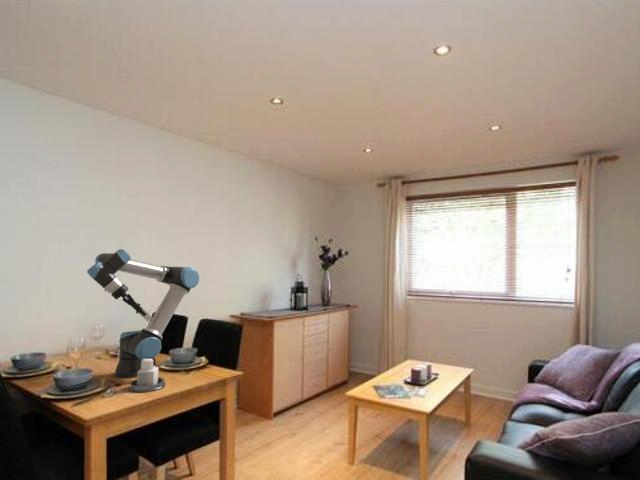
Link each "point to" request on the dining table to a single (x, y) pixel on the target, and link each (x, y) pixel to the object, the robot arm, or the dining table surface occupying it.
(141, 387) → the blue-grey ceramic round dish
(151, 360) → the container
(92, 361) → the dining table surface
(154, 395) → the dining table surface
